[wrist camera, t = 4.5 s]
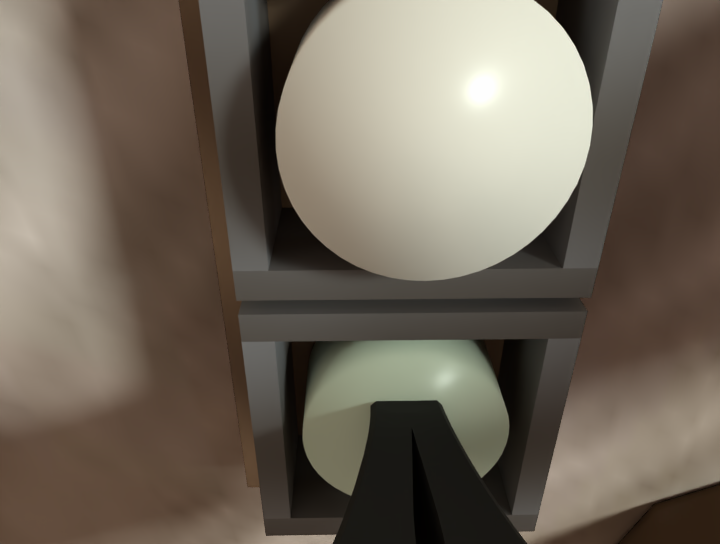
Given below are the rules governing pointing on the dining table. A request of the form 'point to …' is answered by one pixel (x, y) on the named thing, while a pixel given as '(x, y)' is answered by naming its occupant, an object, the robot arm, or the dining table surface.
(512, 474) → the button panel
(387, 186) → the cream button
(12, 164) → the dining table surface
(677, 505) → the beer bottle
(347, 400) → the sage button
